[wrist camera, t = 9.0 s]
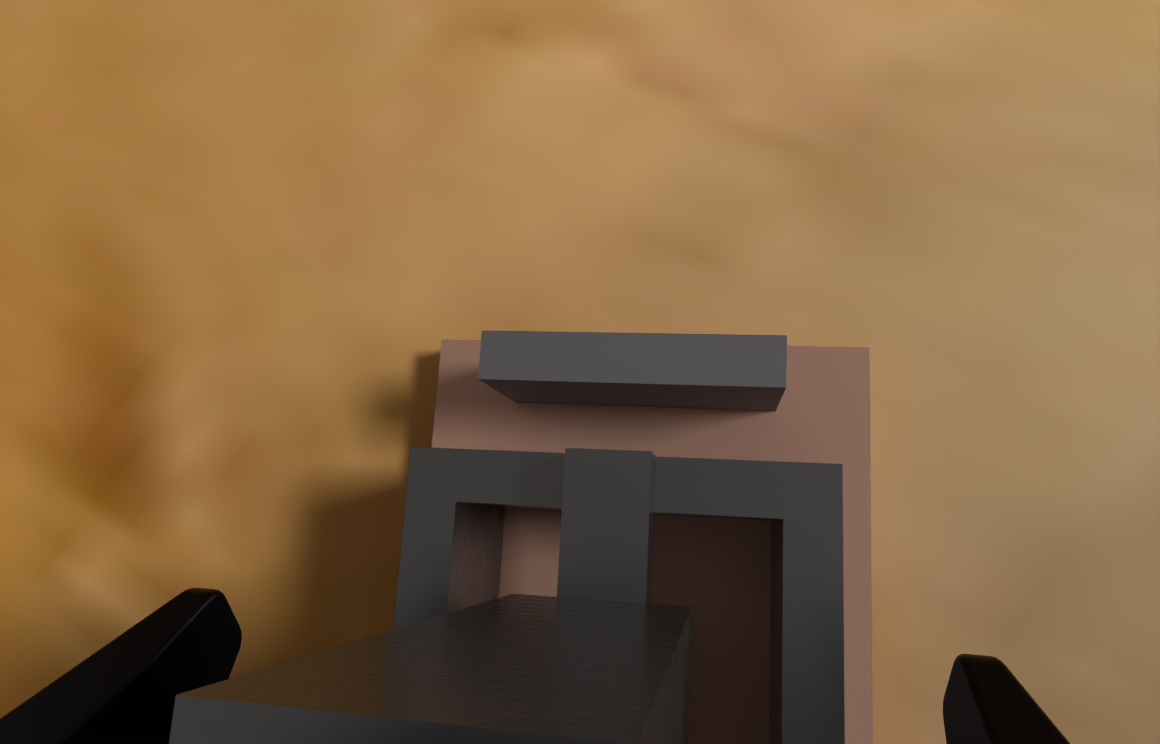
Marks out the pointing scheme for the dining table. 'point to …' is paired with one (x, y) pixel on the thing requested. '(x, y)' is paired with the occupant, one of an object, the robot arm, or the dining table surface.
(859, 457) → the plate
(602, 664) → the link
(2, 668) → the dining table surface
